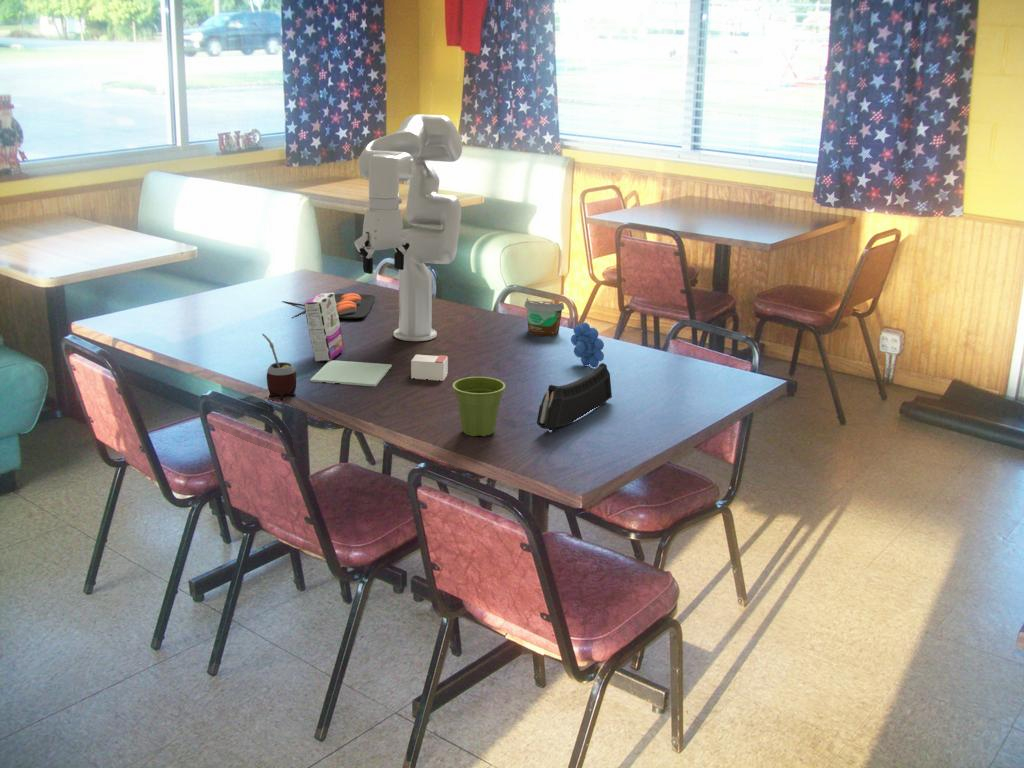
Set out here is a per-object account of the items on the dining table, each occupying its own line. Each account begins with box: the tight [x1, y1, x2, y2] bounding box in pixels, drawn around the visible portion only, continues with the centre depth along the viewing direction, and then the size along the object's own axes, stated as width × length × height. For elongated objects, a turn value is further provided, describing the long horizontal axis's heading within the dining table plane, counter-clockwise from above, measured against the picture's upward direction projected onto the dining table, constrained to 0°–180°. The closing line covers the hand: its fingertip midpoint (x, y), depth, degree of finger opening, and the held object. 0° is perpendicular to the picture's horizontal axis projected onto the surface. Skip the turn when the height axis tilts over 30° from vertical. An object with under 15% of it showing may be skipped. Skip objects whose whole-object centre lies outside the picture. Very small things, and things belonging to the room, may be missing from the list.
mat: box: [309, 359, 393, 387], centre depth 284 cm, size 17×17×1 cm
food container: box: [523, 297, 565, 337], centre depth 324 cm, size 12×6×10 cm, turn 68°
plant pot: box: [452, 376, 506, 437], centre depth 245 cm, size 12×12×11 cm
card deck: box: [410, 354, 449, 382], centre depth 283 cm, size 6×8×5 cm, turn 82°
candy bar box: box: [303, 292, 345, 362], centre depth 295 cm, size 11×5×16 cm, turn 168°
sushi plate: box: [281, 292, 376, 320], centre depth 346 cm, size 29×30×4 cm
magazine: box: [536, 362, 613, 431], centre depth 257 cm, size 17×3×30 cm
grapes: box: [570, 321, 605, 368], centre depth 295 cm, size 12×7×12 cm, turn 44°
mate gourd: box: [261, 333, 297, 402], centre depth 263 cm, size 8×8×15 cm
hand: (383, 271), depth 280 cm, fingers open, 9 cm apart
